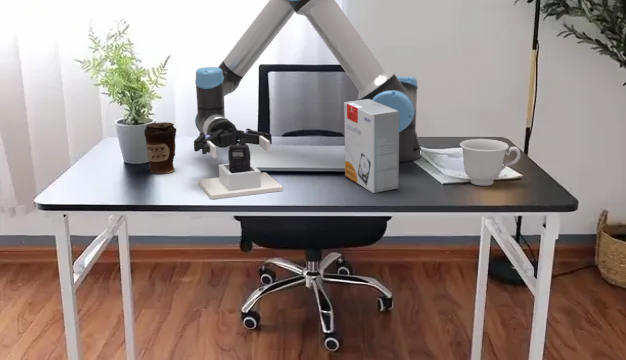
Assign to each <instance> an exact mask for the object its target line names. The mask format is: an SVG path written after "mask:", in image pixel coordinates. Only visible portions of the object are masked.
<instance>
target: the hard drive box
mask: <svg viewBox="0 0 626 360" xmlns="http://www.w3.org/2000/svg"><path fill="white" fill-rule="evenodd" d="M343 114H344V115H343V116H344V117H343V119H344V120H343V121H344V122H343V123H344V125H343V126H344V127H343V128H344V175H345V177H347V178H349V179H350V180H351V181H353V182H355V183H357V184H358V185H360V186H361V187H363V188H364V189H366V190H368V191H369V192H370V193H373V194H375V193H381V192H384V191H385V192H386V191H390V190H391V191H392V190H397V189H399V178H400V177H399V174H400V173H399V172H400V171H399V163H400V162H399V111H397V110H395V109H392V108H390V107H387V106H385V105H382V104H380V103H377V102H375V101H372V100H370V99H364V100H358V99H356V100H352V101H351V100H350V101H344V102H343Z"/></svg>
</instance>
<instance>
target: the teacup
mask: <svg viewBox="0 0 626 360" xmlns="http://www.w3.org/2000/svg"><path fill="white" fill-rule="evenodd" d="M459 146H460V147H461V149H462V156H463V157H462V158H463V168H464V172H465V174H466V176H468V177H469V178H470V183H471V184H473V185H476V186H480V187H481V186H484V187H485V186H486V187H487V186H491V185H493V184H494V180H495V179H497V178H498V177H499V176H500V175H501V172H502V171H503V170H504V169H505V168H506V167H509V166H512V165H515V164H516V163H518V162H519V160H520V159H521V151H520V149H519V147H517V146H509V145H508V143H507V142H504V141H500V140H497V139H490V138H488V139H487V138H472V139H465V140H463V141H461V142H460V143H459ZM507 150H508V151H507ZM511 152H515V153H516V157H515V158H514V159H513V160H511V161H507V162H506V163H504V161H505V160H504V159H505V155H506V156H510V155H511Z"/></svg>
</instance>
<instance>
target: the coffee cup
mask: <svg viewBox="0 0 626 360" xmlns="http://www.w3.org/2000/svg"><path fill="white" fill-rule="evenodd" d="M174 125H175V124H174V123H172V122H168V121H167V122H155V123H148V124H146V127H145V129H144V132H143V133H144V137H145V146H146V153H147V159H148V161H149V168H150V172H151V173H153V174H170V173H173V172H175V169H176V168H175V167H174V159H175V156H176V136H177V134H176V133H177V128H176V127H174Z"/></svg>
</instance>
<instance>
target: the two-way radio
mask: <svg viewBox="0 0 626 360" xmlns="http://www.w3.org/2000/svg"><path fill="white" fill-rule="evenodd" d="M235 127H236V125H235V124H234V125H232V145H230V146H229V147H228V151H227V152H228V153H227V154H228V164H229V171H230V172H231V173H241V172H250V163H251V161H252V160H251V151H250V147H249V144H247V143H245V140H244V139H242V140H241V143H240V144H236V131H235Z"/></svg>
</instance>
